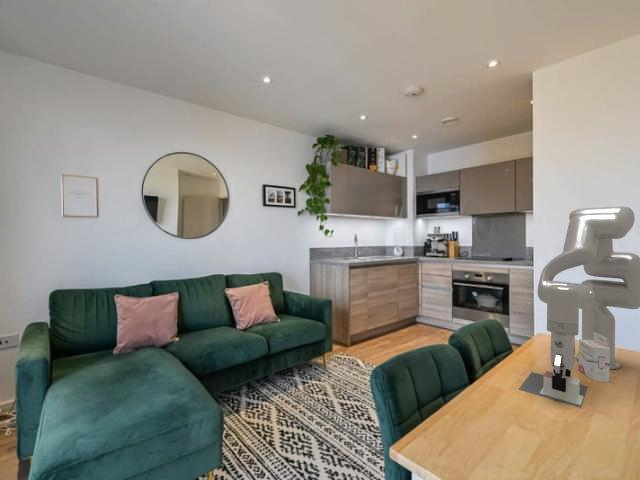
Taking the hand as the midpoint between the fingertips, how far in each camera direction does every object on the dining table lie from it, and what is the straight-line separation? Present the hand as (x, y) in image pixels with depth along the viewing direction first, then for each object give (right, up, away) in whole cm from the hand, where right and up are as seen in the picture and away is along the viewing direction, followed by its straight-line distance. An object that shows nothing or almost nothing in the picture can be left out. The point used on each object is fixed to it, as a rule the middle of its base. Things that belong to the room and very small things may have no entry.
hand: (561, 384), depth 95 cm
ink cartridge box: (+21, -4, +14) cm, 25 cm away
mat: (+1, -4, +5) cm, 6 cm away
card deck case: (0, -3, 0) cm, 3 cm away
